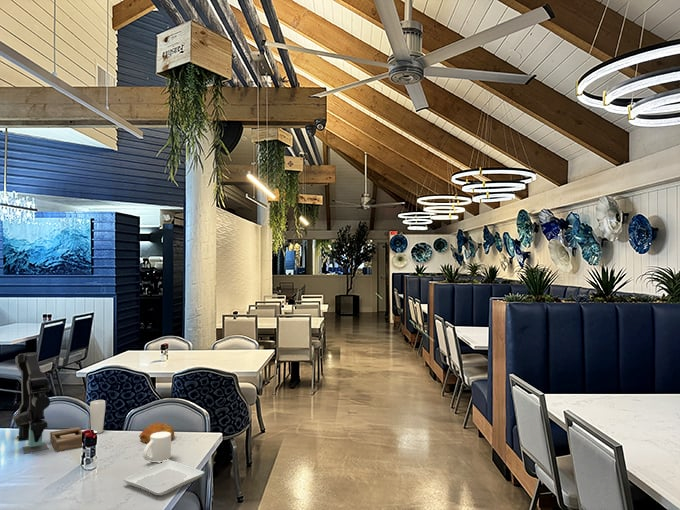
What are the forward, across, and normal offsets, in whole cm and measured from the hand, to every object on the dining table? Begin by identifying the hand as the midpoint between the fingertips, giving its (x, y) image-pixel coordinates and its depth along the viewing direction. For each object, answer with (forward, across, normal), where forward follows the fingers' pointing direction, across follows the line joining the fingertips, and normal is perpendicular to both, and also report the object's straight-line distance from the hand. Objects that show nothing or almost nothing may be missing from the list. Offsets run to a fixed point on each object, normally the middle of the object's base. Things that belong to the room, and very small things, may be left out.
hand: (35, 440), depth 213 cm
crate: (+4, +3, +12) cm, 13 cm away
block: (+2, 0, 0) cm, 2 cm away
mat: (+4, 0, 0) cm, 4 cm away
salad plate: (+4, +69, +33) cm, 77 cm away
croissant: (+4, +20, +46) cm, 50 cm away
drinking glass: (+4, -7, +26) cm, 28 cm away
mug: (+4, +46, +37) cm, 59 cm away
